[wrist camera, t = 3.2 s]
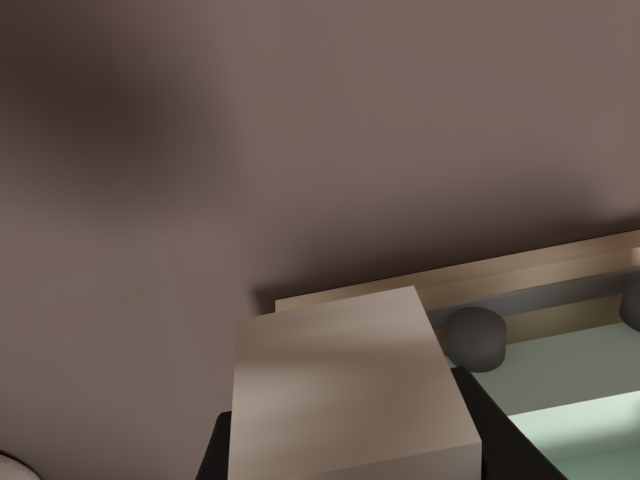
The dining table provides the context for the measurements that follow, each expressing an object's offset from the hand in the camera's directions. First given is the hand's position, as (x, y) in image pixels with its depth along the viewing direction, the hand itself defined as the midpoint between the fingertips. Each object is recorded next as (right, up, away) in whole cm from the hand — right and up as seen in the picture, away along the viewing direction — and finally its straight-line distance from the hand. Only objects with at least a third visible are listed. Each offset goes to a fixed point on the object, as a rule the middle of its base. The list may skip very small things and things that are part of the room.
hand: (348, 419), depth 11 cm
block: (0, +1, +1) cm, 2 cm away
